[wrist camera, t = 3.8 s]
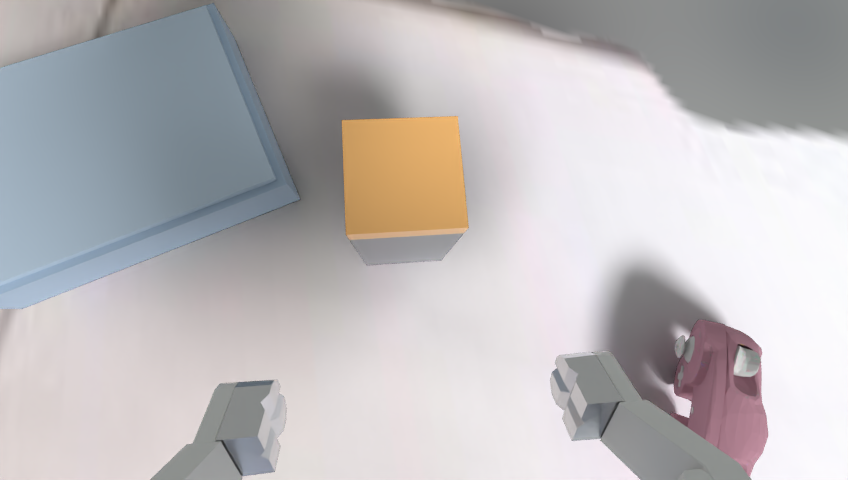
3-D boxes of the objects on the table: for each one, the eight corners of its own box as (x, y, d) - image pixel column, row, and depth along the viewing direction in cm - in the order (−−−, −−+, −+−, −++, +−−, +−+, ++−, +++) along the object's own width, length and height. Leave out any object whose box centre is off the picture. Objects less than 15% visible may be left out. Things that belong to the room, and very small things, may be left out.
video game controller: (664, 320, 24) (694, 303, 18) (752, 343, 22) (818, 332, 16) (635, 479, 22) (657, 520, 16) (728, 519, 20) (793, 582, 14)
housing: (441, 260, 23) (468, 227, 14) (366, 265, 22) (345, 234, 13) (435, 189, 23) (457, 116, 15) (363, 193, 23) (341, 120, 14)
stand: (22, 308, 20) (-46, 308, 17) (-29, 122, 22) (-100, 90, 19) (300, 199, 23) (284, 181, 19) (234, 37, 24) (209, -3, 21)
